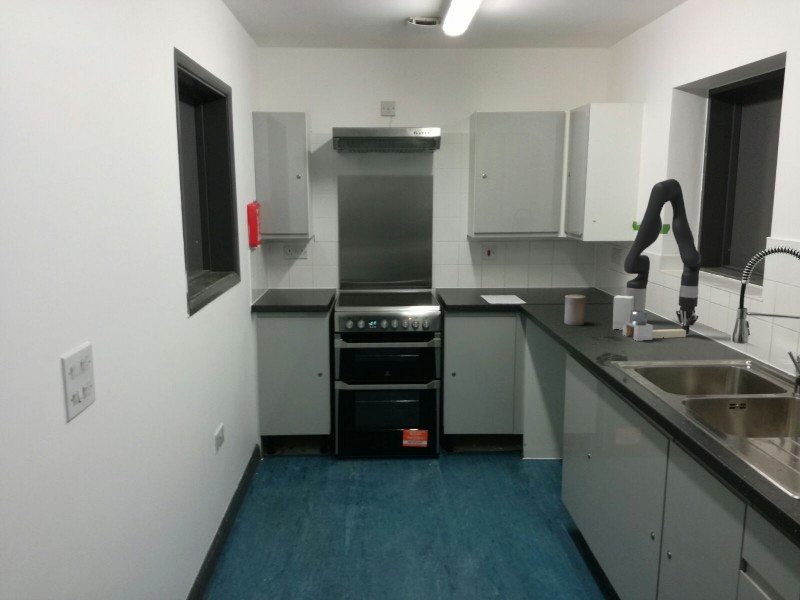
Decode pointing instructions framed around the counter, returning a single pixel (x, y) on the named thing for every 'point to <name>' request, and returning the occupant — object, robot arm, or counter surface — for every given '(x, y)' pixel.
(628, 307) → the skincare box
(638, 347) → the counter surface
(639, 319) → the grey box with ball
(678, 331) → the plug rod
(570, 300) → the pillar candle
